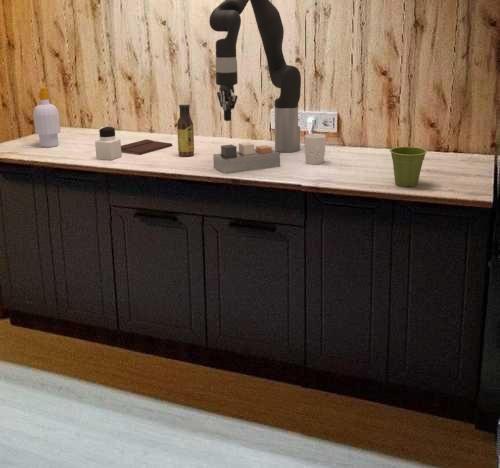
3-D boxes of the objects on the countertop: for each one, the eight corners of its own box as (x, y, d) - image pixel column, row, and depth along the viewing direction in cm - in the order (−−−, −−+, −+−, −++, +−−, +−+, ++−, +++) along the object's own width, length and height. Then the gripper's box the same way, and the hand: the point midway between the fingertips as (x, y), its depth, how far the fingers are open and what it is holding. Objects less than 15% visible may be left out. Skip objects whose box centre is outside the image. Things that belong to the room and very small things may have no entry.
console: (267, 160, 275) (267, 147, 273) (280, 166, 266) (280, 152, 264) (213, 167, 266) (213, 154, 264) (224, 173, 257) (224, 159, 256)
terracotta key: (266, 154, 270) (266, 145, 269) (271, 156, 267) (271, 147, 266) (256, 155, 269) (256, 146, 268) (261, 158, 265) (261, 148, 264)
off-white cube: (249, 151, 267) (249, 142, 266) (254, 154, 263) (254, 144, 262) (238, 153, 265) (238, 143, 264) (243, 155, 262) (243, 145, 261)
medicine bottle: (122, 156, 287) (119, 126, 283) (111, 160, 280) (108, 129, 277) (107, 155, 289) (104, 125, 286) (96, 159, 283) (93, 128, 279)
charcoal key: (231, 153, 264) (231, 144, 263) (236, 156, 261) (236, 146, 259) (221, 155, 262) (220, 145, 261) (225, 157, 259) (225, 147, 258)
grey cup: (327, 160, 273) (328, 134, 270) (322, 165, 266) (323, 138, 263) (307, 159, 276) (307, 133, 272) (301, 164, 269) (301, 137, 265)
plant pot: (384, 187, 236) (386, 153, 232) (391, 178, 246) (393, 145, 243) (422, 190, 232) (424, 155, 228) (427, 181, 242) (429, 147, 238)
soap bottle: (67, 144, 311) (61, 87, 303) (48, 149, 303) (42, 90, 295) (50, 142, 316) (43, 86, 308) (31, 146, 308) (24, 89, 300)
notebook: (172, 147, 304) (172, 142, 303) (139, 156, 289) (139, 151, 288) (145, 143, 312) (145, 139, 312) (112, 152, 297) (112, 147, 296)
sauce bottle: (191, 157, 283) (189, 105, 277) (176, 156, 284) (173, 105, 278) (196, 153, 289) (194, 103, 283) (181, 153, 290) (178, 103, 284)
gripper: (244, 71, 248) (245, 122, 253) (228, 68, 259) (229, 117, 265) (224, 72, 245) (225, 124, 250) (209, 69, 256) (210, 118, 262)
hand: (227, 120), depth 257 cm, fingers closed
